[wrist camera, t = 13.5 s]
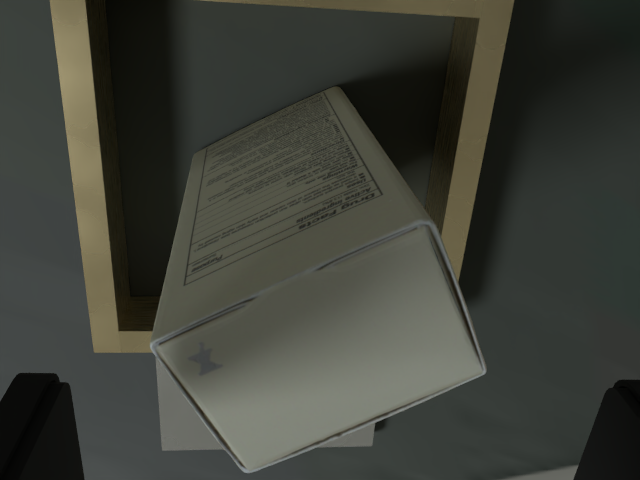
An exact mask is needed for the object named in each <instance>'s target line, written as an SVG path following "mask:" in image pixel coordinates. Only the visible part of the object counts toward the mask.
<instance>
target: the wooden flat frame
mask: <svg viewBox="0 0 640 480" xmlns="http://www.w3.org/2000/svg"><path fill="white" fill-rule="evenodd" d="M202 1H217V2H233V3H249V4H265V5H281V6H297V7H313V8H329V9H345V10H360V11H376V12H392V13H408V14H424V15H440V16H455V22H454V29H453V35H452V41H451V47H450V54H449V60H448V66H447V72H446V79H445V85H444V91H443V97H442V104H441V110H440V116H439V123H438V129H437V135H436V141H435V148H434V154H433V160H432V166H431V173H430V179H429V185H428V191H427V198H426V204H425V210H426V211H427V213H428V214H429V216H430V217H431V218H432V220H433V221H434V223H435V224H436V226H437V228H438V230H439V233H440V235H441V238H442V241H443V243H444V246H445V249H446V251H447V254H448V257H449V259H450V262H451V264H452V267H453V269H454V272H455V275H456V278H457V281H459V276H460V271H461V266H462V261H463V256H464V251H465V246H466V241H467V236H468V231H469V226H470V221H471V216H472V211H473V206H474V201H475V196H476V191H477V186H478V181H479V175H480V170H481V165H482V160H483V155H484V150H485V145H486V140H487V135H488V130H489V125H490V120H491V115H492V110H493V105H494V100H495V95H496V90H497V85H498V80H499V75H500V70H501V65H502V60H503V55H504V50H505V45H506V40H507V35H508V30H509V25H510V20H511V15H512V10H513V5H514V0H202ZM50 6H51V14H52V22H53V30H54V37H55V45H56V53H57V61H58V69H59V77H60V85H61V93H62V101H63V109H64V117H65V125H66V133H67V141H68V149H69V157H70V165H71V173H72V181H73V189H74V197H75V205H76V213H77V221H78V229H79V237H80V245H81V253H82V261H83V269H84V277H85V285H86V293H87V300H88V308H89V316H90V324H91V332H92V340H93V348H94V353H129V352H152V350H151V348H150V340H151V336H152V332H153V327H154V323H155V319H156V315H157V311H158V306H159V302H160V298H161V297H160V296H131V293H130V282H129V270H128V259H127V247H126V236H125V224H124V213H123V201H122V190H121V178H120V167H119V155H118V144H117V132H116V121H115V109H114V98H113V86H112V74H111V63H110V51H109V40H108V28H107V17H106V5H105V0H50ZM156 368H157V383H158V398H159V412H160V427H161V441H162V451H164V450H211V449H223V447H222V446H221V445H220V443H219V442H218V441H217V440H216V438H215V437H214V436H213V434H212V433H211V432H210V430H209V429H208V428H207V427H206V425H205V424H204V423H203V421H202V420H201V418H200V417H199V415H198V414H197V413H196V411H195V410H194V408H193V407H192V406H191V405H190V403H189V402H188V401H187V399H186V398H185V397H184V395H183V394H182V392H181V391H180V389H179V388H178V386H177V385H176V384H175V382H174V381H173V380H172V378H171V377H170V376H169V374H168V372H167V371H166V369H165V368H164V366H163V365H162V364H161V363H160V361H159V360H158V359H157V357H156ZM374 428H375V423H373V424H371V425H369V426H367V427H364V428H362V429H360V430H357V431H355V432H352V433H349V434H347V435H345V436H343V437H341V438H338V439H336V440H333V441H331V442H328V443H326V444H324V445H322V446H319V447H352V446H372V442H373V435H374Z"/></svg>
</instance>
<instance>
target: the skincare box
mask: <svg viewBox="0 0 640 480" xmlns="http://www.w3.org/2000/svg"><path fill="white" fill-rule="evenodd" d="M150 348H151V350H152V352H153V353H154V354H155V356H156V357H157V359H158V360H159V361H160V363H161V364H162V365H163V366H164V368H165V369H166V371H167V372H168V374H169V376H170V377H171V378H172V380H173V381H174V382H175V384H176V385H177V386H178V388H179V389H180V391H181V392H182V394H183V395H184V397H185V398H186V399H187V401H188V402H189V403H190V405H191V406H192V407H193V408H194V410H195V411H196V413H197V414H198V415H199V417H200V418H201V420H202V421H203V423H204V424H205V425H206V427H207V428H208V429H209V430H210V432H211V433H212V434H213V436H214V437H215V438H216V440H217V441H218V442H219V443H220V445H221V446H222V447H223V449H224V450H225V451H226V452H227V453H228V454H229V455H230V456H231V457H232V459H233V460H234V461H235V463H236V464H237V465H238V466H239V468H240V469H241V470H242V471H243V472H245V473H251V472H255V471H257V470H260V469H262V468H265V467H267V466H270V465H274V464H276V463H278V462H281V461H283V460H286V459H288V458H291V457H294V456H297V455H299V454H301V453H304V452H307V451H309V450H312V449H314V448H316V447H319V446H322V445H324V444H326V443H328V442H331V441H333V440H336V439H338V438H341V437H343V436H345V435H347V434H349V433H352V432H355V431H357V430H360V429H362V428H364V427H367V426H369V425H371V424H373V423H376V422H378V421H380V420H383V419H385V418H387V417H390V416H392V415H394V414H397V413H399V412H401V411H404V410H406V409H408V408H410V407H413V406H415V405H417V404H420V403H422V402H424V401H426V400H429V399H431V398H433V397H435V396H437V395H439V394H442V393H444V392H447V391H449V390H451V389H453V388H455V387H457V386H459V385H461V384H464V383H466V382H468V381H471V380H473V379H475V378H477V377H480V376H482V375H484V374H485V373H486V371H487V366H486V363H485V360H484V357H483V355H482V352H481V349H480V346H479V342H478V339H477V336H476V333H475V330H474V327H473V323H472V320H471V317H470V315H469V312H468V308H467V306H466V303H465V300H464V298H463V295H462V292H461V289H460V286H459V284H458V281H457V278H456V275H455V272H454V269H453V267H452V264H451V262H450V259H449V257H448V254H447V251H446V249H445V246H444V243H443V241H442V238H441V235H440V233H439V230H438V228H437V226H436V224H435V223H434V221H433V220H432V218H431V217H430V216H429V214H428V213H427V211H426V210H425V209H424V207H423V206H422V204H421V203H420V202H419V200H418V199H417V197H416V196H415V194H414V193H413V192H412V190H411V189H410V187H409V186H408V184H407V183H406V181H405V180H404V179H403V177H402V176H401V174H400V173H399V171H398V170H397V169H396V167H395V166H394V164H393V163H392V161H391V160H390V159H389V157H388V156H387V154H386V153H385V151H384V150H383V148H382V147H381V145H380V144H379V142H378V141H377V140H376V138H375V137H374V135H373V134H372V132H371V131H370V130H369V128H368V127H367V125H366V124H365V122H364V121H363V120H362V118H361V117H360V115H359V114H358V112H357V110H356V109H355V107H354V106H353V105H352V104H351V102H350V101H349V99H348V98H347V96H346V95H345V94H344V92H343V91H342V89H341V88H340V87H337V86H336V87H332V88H329V89H327V90H325V91H322V92H320V93H318V94H315V95H313V96H311V97H308V98H306V99H304V100H302V101H300V102H297V103H295V104H293V105H291V106H289V107H287V108H284V109H282V110H280V111H278V112H276V113H274V114H272V115H270V116H268V117H266V118H264V119H261V120H259V121H257V122H255V123H253V124H251V125H249V126H247V127H245V128H243V129H241V130H239V131H237V132H235V133H233V134H231V135H229V136H227V137H225V138H223V139H221V140H219V141H217V142H215V143H214V144H212V145H210V146H208V147H206V148H204V149H202V150H200V151H198V152H197V153H195V154H194V156H193V160H192V164H191V168H190V172H189V177H188V181H187V186H186V190H185V194H184V199H183V203H182V207H181V211H180V216H179V221H178V225H177V229H176V233H175V237H174V242H173V246H172V250H171V255H170V259H169V263H168V267H167V272H166V277H165V281H164V285H163V289H162V294H161V298H160V302H159V306H158V311H157V315H156V319H155V323H154V327H153V332H152V336H151V340H150Z"/></svg>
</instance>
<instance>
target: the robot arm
mask: <svg viewBox="0 0 640 480" xmlns="http://www.w3.org/2000/svg"><path fill="white" fill-rule="evenodd" d="M0 480H84V473H83V467H82V460H81V454H80V447H79V441H78V434H77V428H76V421H75V415H74V408H73V402H72V395H71V389H70V385H69V384H68V383H66V382H60V381H59V377H58V376H57V374H54V373H19V374H18V375H16V377H15V378H14V379H13V381H12V383H11V384H10V386H9V388H8V389H7V391H6V393H5V395H4V396H3V398H2V400H1V401H0ZM574 480H640V380H619V381H617V382H616V383H615V385H614V386H613V388H609V389H608V390H607V391H606V393H605V395H604V397H603V400H602V403H601V406H600V408H599V411H598V414H597V417H596V419H595V422H594V425H593V428H592V430H591V433H590V436H589V439H588V441H587V444H586V447H585V450H584V452H583V455H582V458H581V461H580V463H579V466H578V469H577V472H576V474H575V477H574Z"/></svg>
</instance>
